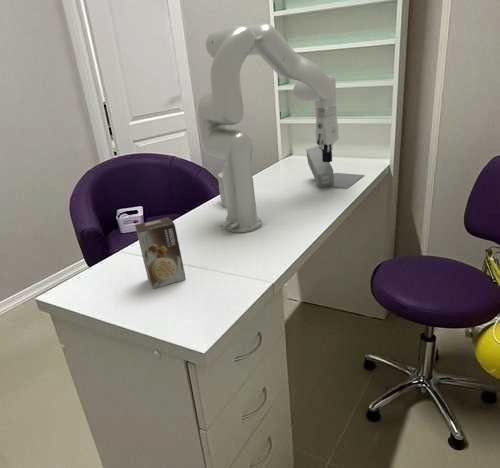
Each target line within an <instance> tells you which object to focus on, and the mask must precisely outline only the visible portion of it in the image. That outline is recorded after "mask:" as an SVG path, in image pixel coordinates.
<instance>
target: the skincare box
mask: <svg viewBox="0 0 500 468" xmlns="http://www.w3.org/2000/svg"><path fill="white" fill-rule="evenodd" d="M305 152H306V158H307V165H308V166H309V168H310V171H311V173H312V176H313V177H314V179H315V182H316V186H317V185H318V186H317V188H318V189H323V188H326V187H325V186H329V185H333V184H334V173H335V172H334V168H333V166H332V165H331V162H323V159H322V150H321V149H319V145H316V146H313V147H312V146H311V147H309V148H306V150H305Z"/></svg>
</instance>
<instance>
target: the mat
mask: <svg viewBox="0 0 500 468" xmlns="http://www.w3.org/2000/svg"><path fill="white" fill-rule="evenodd" d="M333 173H334V184H333V185H329V186H325V187H324V188H330V189H331V188H333V189H341V190H343V189H344V190H348V189H349V188H351V187H352V186H353V185H354V184H356V183H357V182H359V181H360V180H361V179H362V178H364V177H365V174H357V173H344V172H343V173H342V172H333ZM316 187H318V185H317V184H316Z"/></svg>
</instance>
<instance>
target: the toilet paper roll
mask: <svg viewBox="0 0 500 468" xmlns="http://www.w3.org/2000/svg"><path fill="white" fill-rule="evenodd" d="M222 172H223V171H221V172H219V173H218V174H217V179H218V190H219V196H220V202H221V205H222V207H224V208H227V207H226V199H225V192H224V184H223V176H222Z"/></svg>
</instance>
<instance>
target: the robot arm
mask: <svg viewBox="0 0 500 468" xmlns="http://www.w3.org/2000/svg"><path fill="white" fill-rule="evenodd" d="M205 48H206V52H207V53H208V54H209V55H210V57H211V58H213V61H212V64H211V68H210V86H211V91H210V92H207V93H205V94H203V95H202V97H201V98H200V100H199V102H198V105H197V117H198V118H197V119H198V125H199V130H200V131H199V132H200V136H201V137H200V138H201V142H202V146H203V148H204V151H205V152H206V154H208V155H209V156H210V157H213V158H215V159H216V158H217V159H222V160H224V163H223V164H224V165H223V168H222V171H221V172H222V176H223V184H224V192H225V199H226V207H225V208H226V212H227V214H226V215H227V216H226V220H225V222H223V223H221V224H220V225H219V228H220V229H221V231H224V230H226V231H228V232H230V233H237V234H238V233H249V232H252V231H255V230H257V229H259V228H260V227H261V226H262V225H263V220H262V218H261V217H259V216H258V214H257V207H256V206H257V205H256V196H255V195H256V194H255V188H254V187H255V186H254V179H253V165H252V163H253V161H252V160H253V151H254V150H253V149H254V148H253V147H254V143H253V140H252V138H251V136H250V135H249V134H248V133H247V132H245V131H244V130H241V129H236V128H227V126H235V125H237V124H239V123H241V121H242V120H243V118H244V102H243V93H242V85H241V70H242V66H243V63H244V62H245V60H246V59H247V57H248V56H255V55H256V56H257V55H258V56H259V57H261V59H262V60H263V61H265V62H266V63H267V65H268V66H270V68H271V69H272V70H273V71H274V73H276V74H278V76H281V77H283V78H286V79H290V80H294V81H296V82H295V84H294V86H293V90H292V91H293V95H294V97H295V98H296V99H297V100H299V101H302V102H314V111H315V114H314V115H315V143H316V146H319V149H321V150H322V159H323V162H329V163H331V162H332V161H333V145H334V143H335V142H337V141H338V140H339V127H338V126H339V125H338V118H337V89H336V85H337V83H336V78H335V76H333V75H328V74H327V73H326V72H325V70H324V69H323V68H321V67H322V66H321V67H320V66H319V65H318V64H316V63H315V62H313V61H311V60H310V59H308V58H306V57H304V56H302V55H301V54H298V53H297V52H296V51H295V50H294V49H293V48H292V46H291V45H290V44H289V43H288V42H287V41H286V40H285V38H284V37H283V36H282V35H281V34H280V32H279V31H278V30H277V29H276V28H275V27H274V26H273V25H272V24H270V23H257V24H252V25H246V26H245V25H235V26H234V25H233V26H228V27H222V28H217V29H214V30H212V31H211V32H210V33H209V34H208V35H207V37H206V41H205Z"/></svg>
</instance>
